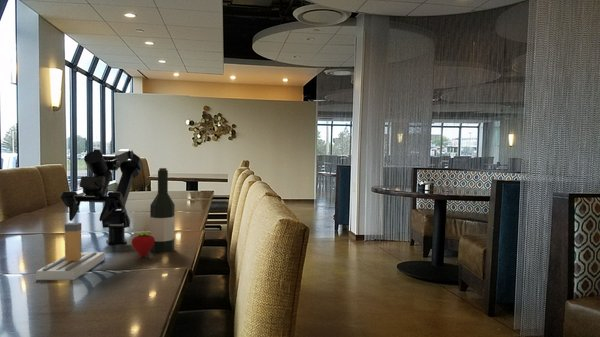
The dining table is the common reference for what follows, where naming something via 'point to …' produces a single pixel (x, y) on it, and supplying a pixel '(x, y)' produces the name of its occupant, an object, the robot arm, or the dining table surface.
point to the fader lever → (72, 241)
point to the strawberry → (143, 243)
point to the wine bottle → (162, 216)
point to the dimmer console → (70, 267)
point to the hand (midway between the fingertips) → (85, 220)
